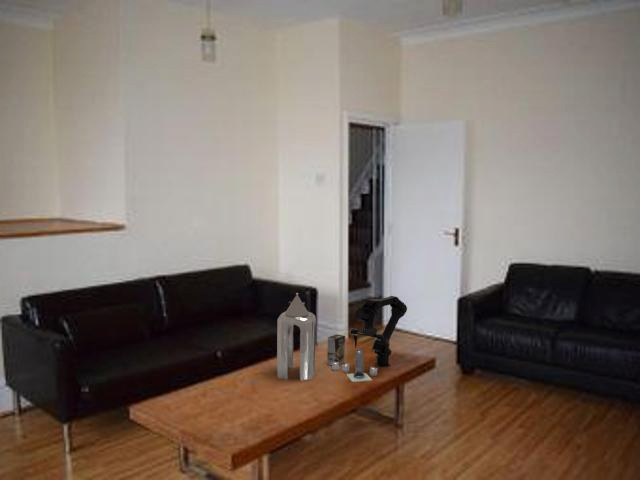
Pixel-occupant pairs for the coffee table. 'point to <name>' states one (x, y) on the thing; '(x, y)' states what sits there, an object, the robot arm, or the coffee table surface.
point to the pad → (367, 378)
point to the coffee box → (336, 349)
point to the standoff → (359, 364)
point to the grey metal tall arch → (285, 340)
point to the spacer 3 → (373, 371)
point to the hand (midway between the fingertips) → (363, 349)
